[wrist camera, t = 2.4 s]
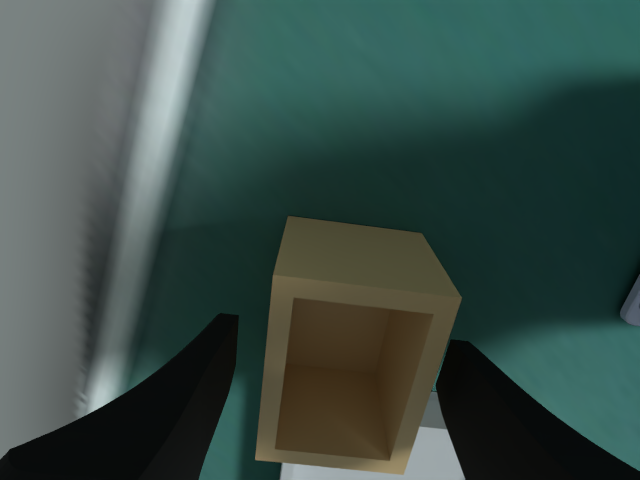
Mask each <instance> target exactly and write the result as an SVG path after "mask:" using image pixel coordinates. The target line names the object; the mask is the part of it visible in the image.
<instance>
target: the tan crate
mask: <svg viewBox="0 0 640 480" xmlns="http://www.w3.org/2000/svg"><path fill="white" fill-rule="evenodd" d="M461 300H462V297H461V295H460V294H459V292H458V291H457V289H456V287H455V286H454V284H453V283H452V281H451V279H450V278H449V276H448V275H447V273H446V271H445V270H444V268H443V266H442V265H441V263H440V262H439V260H438V258H437V257H436V255H435V254H434V252H433V250H432V249H431V247H430V246H429V244H428V242H427V241H426V239H425V237H424V236H423V234H422V233H417V232H410V231H402V230H394V229H386V228H379V227H371V226H363V225H356V224H348V223H340V222H332V221H325V220H317V219H309V218H302V217H294V216H288V218H287V222H286V226H285V230H284V234H283V237H282V241H281V245H280V249H279V253H278V257H277V261H276V265H275V269H274V273H273V280H272V290H271V300H270V311H269V321H268V331H267V341H266V352H265V362H264V372H263V383H262V393H261V403H260V414H259V424H258V434H257V445H256V455H255V460H260V461H270V462H280V463H290V464H300V465H310V466H320V467H330V468H340V469H350V470H360V471H370V472H380V473H389V474H399V475H404V472H405V469H406V466H407V463H408V460H409V457H410V454H411V451H412V448H413V445H414V442H415V439H416V436H417V433H418V430H419V427H420V424H421V421H422V418H423V415H424V412H425V409H426V406H427V403H428V400H429V397H430V394H431V391H432V387H433V384H434V381H435V378H436V375H437V372H438V369H439V366H440V363H441V360H442V357H443V354H444V351H445V348H446V345H447V342H448V339H449V336H450V333H451V330H452V327H453V324H454V321H455V318H456V315H457V312H458V309H459V306H460V303H461Z"/></svg>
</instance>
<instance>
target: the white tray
mask: <svg viewBox="0 0 640 480" xmlns="http://www.w3.org/2000/svg"><path fill="white" fill-rule="evenodd" d="M279 480H465V477H464V475H463V472H462V469H461V466H460V464H459V461H458V458H457V455H456V453H455V450H454V447H453V445H452V442H451V439H450V436H449V433H448V431H447V428H446V425H445V422H444V419H443V416H442V413H441V409H440V404H439V400H438V395H437V392H431V394H430V397H429V400H428V403H427V406H426V409H425V412H424V415H423V418H422V421H421V424H420V427H419V430H418V433H417V436H416V439H415V442H414V445H413V448H412V451H411V454H410V457H409V460H408V463H407V466H406V469H405V472H404V475H399V474H389V473H380V472H370V471H360V470H350V469H340V468H330V467H320V466H310V465H300V464H290V463H281V470H280V478H279Z"/></svg>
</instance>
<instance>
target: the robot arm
mask: <svg viewBox="0 0 640 480" xmlns="http://www.w3.org/2000/svg"><path fill="white" fill-rule="evenodd" d="M620 315H621V318H622V319H623V320H625V321H626V322H627V323H628V324H630V325H634V326H640V275H639V276H638V278H637V280H636V282H635V284H634V286H633V288H632V290H631V292H630V293H629V295H628V297H627V299H626V301H625V303H624V305H623V307H622V308H621V311H620ZM238 319H239V315H232V314H223V313H220V314H218V315H217V316H216V317H215V318H214V319H213V320H212V321H211V322H210V323H209V325H208V326H207V327H206V328H205V329H204V330H203V331H202V332H201V333H200V334H199V335H198V336H197V337H196V338H195V339H193V340H192V341H191V342H190V343H189V344H188V345H187V346H186V347H185V348H184V349H183V350H182V351H180V352H179V353H178V354H177V355H176V356H175V357H173V358H172V359H171V360H170V361H169V362H167V363H166V364H165V365H164V366H163V367H161V368H160V369H159V370H157V371H156V372H155V373H153V374H152V375H151V376H149V377H148V378H147V379H145V380H144V381H142V382H141V383H140V384H138V385H137V386H135V387H134V388H132V389H131V390H129V391H128V392H126V393H124V394H123V395H121V396H119V397H118V398H116V399H114V400H113V401H111V402H109V403H108V404H106V405H104V406H103V407H101V408H99V409H97V410H95V411H93V412H91V413H89V414H88V415H86V416H84V417H82V418H80V419H78V420H76V421H74V422H72V423H70V424H68V425H66V426H63V427H61V428H59V429H57V430H55V431H53V432H50V433H48V434H45V435H43V436H41V437H39V438H36V439H34V440H31V441H29V442H27V443H25V444H22V445H19V446H17V447H15V448H12V449H10V450H9V451H8V452H7V453H6V455H4V456H3V457H2V458H1V459H0V480H198V479H199V476H200V472H201V469H202V466H203V463H204V460H205V456H206V454H207V451H208V448H209V446H210V443H211V440H212V437H213V435H214V432H215V429H216V427H217V424H218V421H219V418H220V416H221V413H222V410H223V407H224V405H225V402H226V399H227V396H228V394H229V390H230V386H231V382H232V378H233V374H234V369H235V365H236V352H237V335H238ZM436 390H437V395H438V400H439V404H440V409H441V413H442V416H443V419H444V422H445V425H446V428H447V431H448V433H449V436H450V439H451V442H452V445H453V447H454V450H455V453H456V455H457V458H458V461H459V464H460V466H461V469H462V472H463V475H464V477H465V480H640V471H638V470H637V469H635V468H633V467H631V466H630V465H628V464H626V463H625V462H623V461H621V460H620V459H618V458H616V457H615V456H613V455H612V454H610V453H609V452H607V451H605V450H604V449H602V448H601V447H599V446H597V445H596V444H594V443H593V442H591V441H590V440H588V439H587V438H585V437H584V436H582V435H581V434H580V433H578V432H577V431H575V430H574V429H573V428H571V427H570V426H568V425H567V424H566V423H564V422H563V421H561V420H560V419H559V418H557V417H556V416H555V415H553V414H552V413H551V412H550V411H548V410H547V409H546V408H545V407H543V406H542V405H541V404H540V403H538V402H537V401H536V400H535V399H533V398H532V397H531V396H530V395H529V394H527V393H526V392H525V391H524V390H523V389H522V388H520V387H519V386H518V385H517V384H516V383H515V382H514V381H512V380H511V379H510V378H509V377H508V376H507V375H506V374H505V373H504V372H502V371H501V370H500V369H499V368H498V367H497V366H496V365H495V364H494V363H493V362H491V361H490V360H489V359H488V358H487V357H486V356H485V355H484V354H483V353H481V352H480V351H479V350H478V349H477V348H476V347H475V346H473V345H472V344H471V343H470V342H468V341H460V340H450V343H449V346H448V349H447V352H446V355H445V358H444V361H443V364H442V367H441V371H440V374H439V377H438V380H437V383H436Z"/></svg>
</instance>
